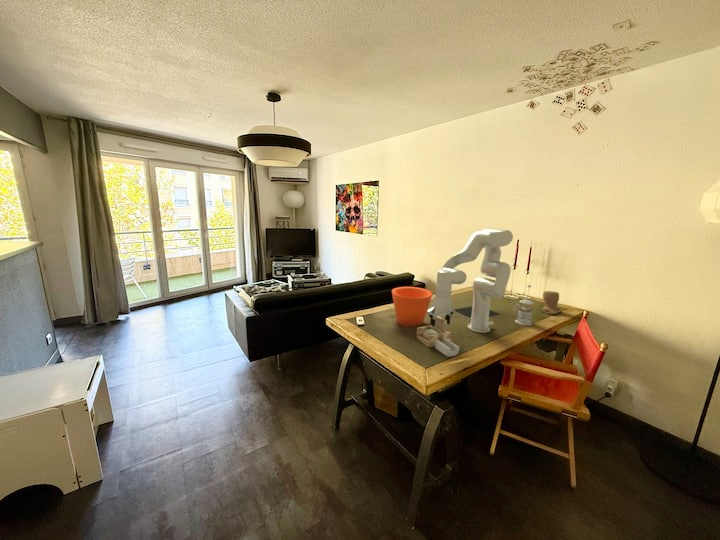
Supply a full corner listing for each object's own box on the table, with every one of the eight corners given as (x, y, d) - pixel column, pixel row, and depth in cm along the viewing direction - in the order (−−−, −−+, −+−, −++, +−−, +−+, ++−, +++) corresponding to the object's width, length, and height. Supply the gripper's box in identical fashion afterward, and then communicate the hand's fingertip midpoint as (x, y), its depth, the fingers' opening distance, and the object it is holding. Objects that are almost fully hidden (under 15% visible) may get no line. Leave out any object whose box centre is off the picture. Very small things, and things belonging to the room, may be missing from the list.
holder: (444, 346, 140) (445, 337, 139) (458, 356, 131) (459, 346, 130) (433, 348, 138) (434, 339, 137) (447, 358, 128) (448, 349, 127)
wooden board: (436, 336, 150) (438, 315, 147) (444, 341, 143) (446, 320, 141) (433, 336, 149) (435, 316, 147) (441, 342, 143) (443, 321, 140)
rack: (437, 335, 153) (438, 324, 151) (450, 344, 143) (451, 332, 141) (416, 339, 147) (417, 327, 146) (428, 348, 137) (429, 336, 136)
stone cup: (544, 307, 204) (547, 288, 201) (563, 312, 194) (566, 292, 191) (535, 311, 195) (538, 291, 192) (554, 316, 186) (557, 295, 183)
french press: (535, 326, 168) (541, 287, 163) (514, 324, 171) (520, 286, 166) (528, 320, 178) (534, 283, 173) (509, 318, 180) (514, 282, 175)
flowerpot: (409, 312, 189) (411, 284, 184) (438, 324, 169) (441, 294, 164) (382, 319, 174) (383, 290, 170) (410, 333, 154) (412, 300, 150)
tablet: (473, 319, 176) (451, 309, 194) (473, 320, 176) (451, 310, 194) (501, 314, 187) (478, 305, 205) (501, 315, 187) (478, 306, 205)
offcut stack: (430, 337, 148) (430, 328, 147) (437, 342, 142) (438, 333, 141) (422, 338, 146) (423, 329, 145) (429, 344, 140) (430, 334, 139)
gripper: (451, 290, 147) (448, 320, 151) (424, 293, 141) (422, 323, 144) (461, 294, 141) (457, 325, 144) (433, 297, 134) (430, 329, 138)
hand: (439, 324), depth 144 cm, fingers open, 9 cm apart
